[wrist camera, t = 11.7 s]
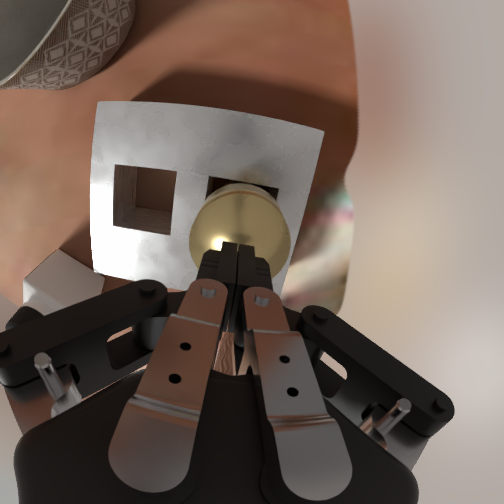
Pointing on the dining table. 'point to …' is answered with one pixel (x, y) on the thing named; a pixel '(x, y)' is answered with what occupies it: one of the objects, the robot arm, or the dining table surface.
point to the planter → (59, 40)
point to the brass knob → (242, 224)
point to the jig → (186, 180)
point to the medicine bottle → (56, 287)
